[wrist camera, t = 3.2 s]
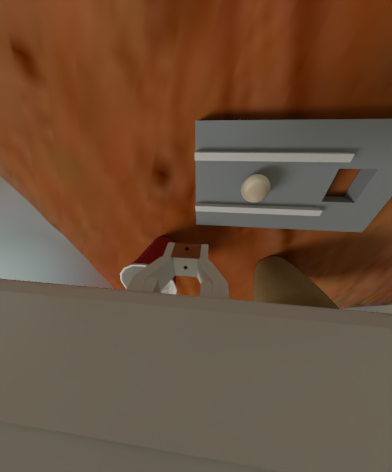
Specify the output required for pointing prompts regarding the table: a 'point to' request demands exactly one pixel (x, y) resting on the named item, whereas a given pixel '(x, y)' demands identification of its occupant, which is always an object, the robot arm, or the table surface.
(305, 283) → the plant pot
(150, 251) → the plastic cup
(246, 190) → the ball
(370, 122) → the hole board
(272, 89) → the table surface
